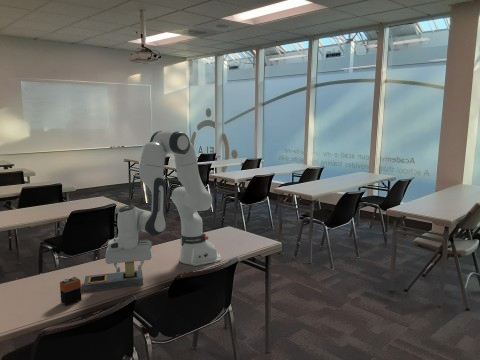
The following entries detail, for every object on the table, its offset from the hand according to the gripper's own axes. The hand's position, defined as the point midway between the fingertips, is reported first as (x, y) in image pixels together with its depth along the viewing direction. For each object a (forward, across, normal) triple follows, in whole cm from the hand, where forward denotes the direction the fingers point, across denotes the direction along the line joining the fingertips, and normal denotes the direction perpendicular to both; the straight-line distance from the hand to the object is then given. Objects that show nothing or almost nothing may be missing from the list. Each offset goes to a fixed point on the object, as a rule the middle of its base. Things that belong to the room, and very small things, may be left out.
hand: (129, 270), depth 171 cm
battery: (+6, +23, +13) cm, 27 cm away
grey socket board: (+6, +7, 0) cm, 9 cm away
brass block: (+5, 0, 0) cm, 5 cm away
